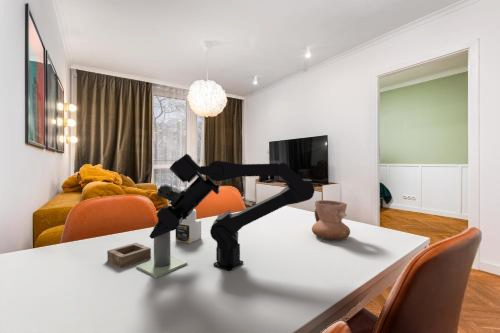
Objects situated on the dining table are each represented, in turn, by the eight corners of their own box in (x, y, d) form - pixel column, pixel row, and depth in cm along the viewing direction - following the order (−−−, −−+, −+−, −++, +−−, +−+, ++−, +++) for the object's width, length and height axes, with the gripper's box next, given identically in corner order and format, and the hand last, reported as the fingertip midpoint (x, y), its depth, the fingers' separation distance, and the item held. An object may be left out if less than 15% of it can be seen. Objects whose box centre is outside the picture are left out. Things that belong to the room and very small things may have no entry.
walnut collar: (150, 257, 74) (150, 248, 74) (121, 267, 66) (121, 257, 66) (136, 251, 79) (136, 242, 79) (107, 260, 72) (107, 250, 72)
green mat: (187, 264, 68) (187, 262, 68) (156, 277, 60) (156, 275, 60) (167, 256, 74) (167, 254, 74) (136, 267, 66) (136, 265, 66)
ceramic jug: (361, 242, 87) (360, 204, 87) (327, 246, 82) (327, 206, 83) (331, 230, 104) (331, 198, 104) (302, 232, 100) (302, 199, 100)
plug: (173, 262, 68) (173, 225, 68) (162, 268, 64) (161, 229, 64) (162, 259, 70) (162, 223, 70) (150, 265, 66) (150, 227, 66)
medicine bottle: (175, 240, 90) (174, 209, 90) (188, 235, 96) (187, 206, 96) (189, 243, 86) (188, 211, 86) (201, 238, 93) (201, 208, 92)
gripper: (182, 173, 77) (149, 207, 76) (164, 176, 58) (119, 221, 58) (207, 197, 77) (173, 230, 77) (196, 207, 58) (152, 252, 58)
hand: (156, 232), depth 67 cm, fingers open, 9 cm apart
